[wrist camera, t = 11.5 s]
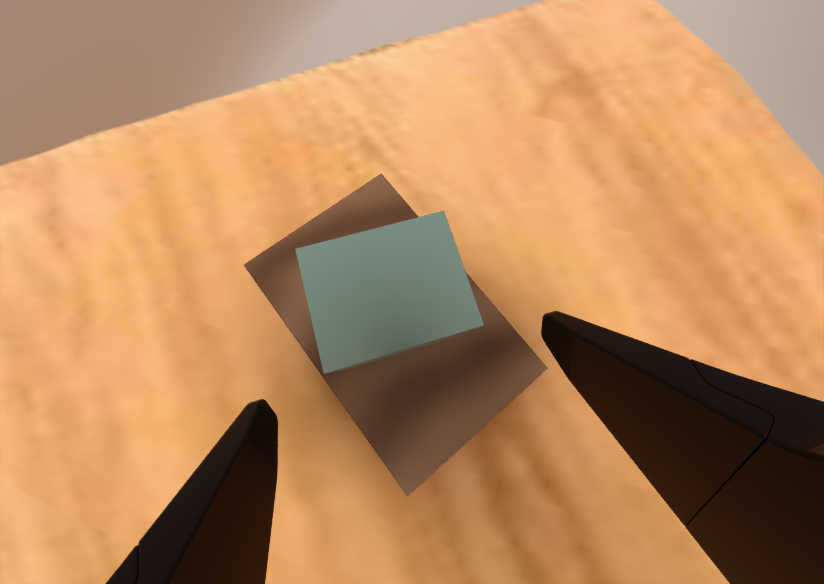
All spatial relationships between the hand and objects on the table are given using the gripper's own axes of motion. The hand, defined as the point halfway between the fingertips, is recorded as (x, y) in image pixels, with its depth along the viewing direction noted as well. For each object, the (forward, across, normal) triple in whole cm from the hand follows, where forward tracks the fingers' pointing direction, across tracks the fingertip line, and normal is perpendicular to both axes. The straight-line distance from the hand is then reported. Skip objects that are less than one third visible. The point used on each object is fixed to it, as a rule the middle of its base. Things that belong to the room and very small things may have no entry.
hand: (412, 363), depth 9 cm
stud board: (+12, 0, +7) cm, 14 cm away
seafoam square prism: (+11, 0, +6) cm, 12 cm away
